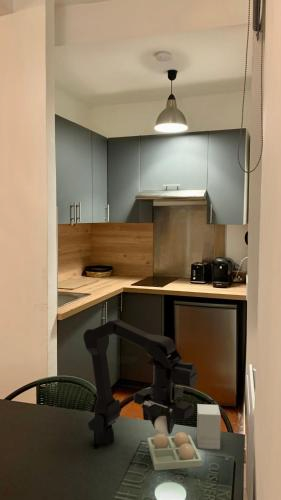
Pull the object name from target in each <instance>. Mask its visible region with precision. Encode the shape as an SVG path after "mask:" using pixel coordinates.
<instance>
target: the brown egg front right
mask: <svg viewBox="0 0 281 500" xmlns="http://www.w3.org/2000/svg"><path fill="white" fill-rule="evenodd" d="M194 455H195V450H194V448H193V446H192V445H190V444H187V443H185V444H182V445H181V446H180V448H179V456H180V458H181V459H182V460H191V459H193V458H194Z"/></svg>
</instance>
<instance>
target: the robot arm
mask: <svg viewBox="0 0 281 500" xmlns="http://www.w3.org/2000/svg"><path fill="white" fill-rule="evenodd" d="M111 335H115V336H118V337H120V338H121V339H123V340H125V341H128V342H130V343H132V344H134V345H135V346H138V347H139V348H142V349H143V350H144V352H145V353H146V355H148V356H149V357H150V359H149V360H148V361H147V362H146V364H147V365H149V366H153V383H151V384H150V388H151V389H152V390H150V389H148V388H142V389H141V390H138V391H137V392H136V393H134V396H133V403H135V404H138V405H140V406H141V409H144V411H145V414H147V416H148V419H149V420H150V422H151V424H152V426H153V428H154V429H155V426H154V424H155V420H156V419H157V418H158V417H159V416H158V415H159V413H158V411H159V407H160V406H161V407H162V408H166V409H169V412H168V413H167V414H166V415H165V417H166V421H167V430H168V432H167V433H168V435H171V434H172V433H173V431H174V427H175V424H176V421H177V419H178V420H181V421H183V420H184V421H185V420H186V419H187V418H189V417H191V416H192V415H193V414H194V413H195V407H194V405H193V404H192V403H190V402H187V401H184V400H181V401H179V402H177V403H175V402H173V401H176V400H177V399H178V398H180V399H181V398H182V397H183V393H184V387H187V388H190V389H193V388H195V387H196V386H197V382H198V377H199V372H198V370H197V368H196V364H195V363H194V362H187V361H186V362H185V361H183V357H182V356H181V353H180V352H179V351H178V349H177V347H176V345H175V342H174V340H173V339H172V338H171V337H169V336H164V335H160V334H151V333H148V332H146V331H144V330H141V329H139V328H138V327H135V326H134V325H130V324H128V322H127V323H126V322H124V321H123V320H121V319H120V318H113V319H111V320H108V321H107V322H106V323H104V324H102V325H101V324H100V325H97V326H94V327H91V328H88V329H86V330H85V332H84V333H83V341H84V345H85V348H86V350H87V351H88V353H89V354H90V356H91V361H92V368H93V369H92V370H93V376H94V382H95V391H96V396H97V397H96V398H97V399H96V402H95V405H94V416H93V418H92V419H91V420H89V422H87V427H88V429H89V430H90V431H92V449H94V450H97V449H98V450H99V447H104V446H109V445H110V444H113V443H115V435H114V434H115V429H114V427H113V424H115V423H116V421H117V420H118V419H119V417H121V416H120V415H121V412H122V408H121V405H120V402H121V401H120V400H119V399H116V398H115V397H114V395H113V392H112V386H111V385H112V384H111V378H110V377H111V376H110V369H109V364H108V363H109V362H108V355H107V350H108V349H109V348H108V347H109V344H110V336H111ZM169 357H171V358H169ZM168 358H169V359H168Z"/></svg>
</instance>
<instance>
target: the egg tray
mask: <svg viewBox="0 0 281 500" xmlns="http://www.w3.org/2000/svg"><path fill="white" fill-rule="evenodd" d="M187 435H188V437H189V444H190V445H192V446H193V448H194V450H195V455H194V458H193V459H191V460H182V459H181V458H180V456H179V448H180V447H178V448H177V447H176V445H175V444H174V437H175V435H173V436H170V435H169V436H167V437H168V440H169V444H168V447H167V448H163V449H156V448H155V446H154V444H153V440H154V437H155V436H154V437H153V436H151V437H147V447H148V451H149V454H150V458H151V462H152V465H153V469H154V471H165V470H174V469H175V470H179V469H189V468H190V469H192V468H202V467H203V459H202V457H201V456H200V453H199V451H198V448H197V447H196V445H195V443H194V441H193V438H192V437H191V434H187Z"/></svg>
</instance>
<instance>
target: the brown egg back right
mask: <svg viewBox="0 0 281 500" xmlns="http://www.w3.org/2000/svg"><path fill="white" fill-rule="evenodd" d="M188 435H189V434H187V433H186V432H183V431H180V432H177V433H176V434H175V435H174V436H175V437H174V444H175V445H176V447H177V448H178V447H180V446H181V445H182V444H185V443H187V444H189V437H188Z"/></svg>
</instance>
